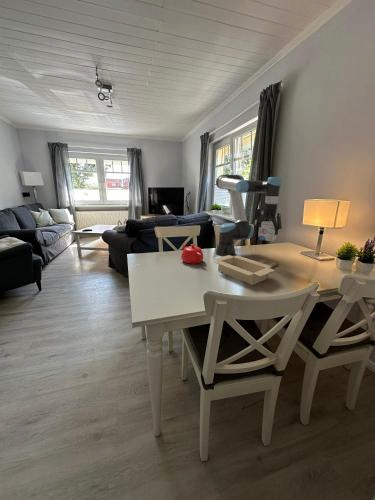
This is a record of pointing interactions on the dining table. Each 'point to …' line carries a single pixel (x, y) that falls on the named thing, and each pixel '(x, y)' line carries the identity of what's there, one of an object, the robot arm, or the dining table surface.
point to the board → (267, 262)
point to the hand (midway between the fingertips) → (266, 238)
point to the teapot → (192, 254)
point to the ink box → (266, 231)
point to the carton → (243, 268)
